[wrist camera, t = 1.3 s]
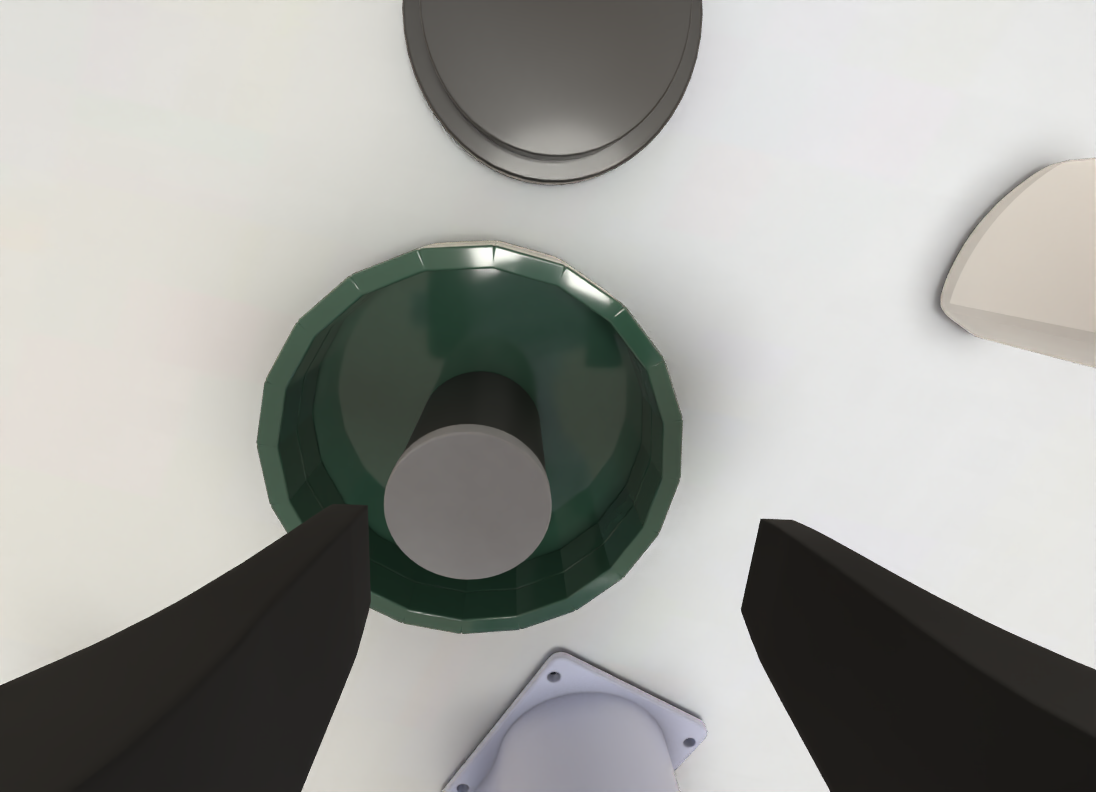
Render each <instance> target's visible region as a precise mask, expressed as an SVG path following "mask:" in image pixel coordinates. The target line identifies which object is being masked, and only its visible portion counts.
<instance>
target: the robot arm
mask: <svg viewBox="0 0 1096 792" xmlns="http://www.w3.org/2000/svg"><path fill="white" fill-rule="evenodd" d="M370 604H371V589H370V558H369V526H368V505H350V504H332V505H330V506H328V507H326V508H325V509H323V510H321V511H320V512H318V513H317V514H315V515H314V516H312V517H311V518H309V519H308V520H306V521H305V522H303V523H302V524H300V525H299V526H297V527H296V528H294V529H293V530H292V531H290V532H289V533H287V534H286V535H284V536H283V537H281V538H280V539H278V540H277V541H275V542H274V543H272V544H271V545H269V546H268V547H266V548H264V549H263V550H261V551H260V552H258V553H257V554H255V555H254V556H252V557H251V558H249V559H248V560H246V561H245V562H243V563H241V564H240V565H238V566H236V567H235V568H233V569H231V570H230V571H228V572H227V573H225V574H223V575H222V576H220V577H218V578H217V579H215V580H213V581H212V582H210V583H208V584H207V585H205V586H203V587H202V588H200V589H198V590H197V591H195V592H193V593H192V594H190V595H188V596H187V597H185V598H183V599H181V600H180V601H178V602H176V603H174V604H172V605H171V606H169V607H167V608H165V609H163V610H161V611H159V612H157V613H156V614H154V615H152V616H150V617H148V618H146V619H144V620H142V621H140V622H138V623H136V624H134V625H132V626H130V627H128V628H126V629H124V630H122V631H120V632H118V633H116V634H114V635H112V636H110V637H108V638H106V639H104V640H102V641H100V642H98V643H96V644H94V645H92V646H89V647H87V648H85V649H83V650H80V651H78V652H76V653H73V654H71V655H69V656H67V657H64V658H62V659H60V660H57V661H55V662H53V663H51V664H48V665H46V666H44V667H41V668H39V669H37V670H35V671H32V672H30V673H28V674H25V675H23V676H21V677H19V678H16V679H14V680H12V681H9V682H7V683H5V684H3V685H0V792H301V791H302V788H303V786H304V783H305V781H306V778H307V776H308V773H309V771H310V769H311V766H312V764H313V761H314V759H315V756H316V754H317V752H318V749H319V747H320V744H321V742H322V739H323V737H324V734H325V732H326V730H327V727H328V725H329V722H330V720H331V717H332V715H333V713H334V710H335V708H336V705H337V703H338V700H339V698H340V695H341V693H342V690H343V688H344V686H345V683H346V681H347V678H348V676H349V673H350V671H351V668H352V666H353V663H354V661H355V658H356V655H357V652H358V648H359V645H360V641H361V638H362V634H363V631H364V627H365V623H366V619H367V615H368V611H369V607H370ZM741 612H742V615H743V617H744V620H745V623H746V626H747V629H748V631H749V634H750V637H751V639H752V642H753V644H754V647H755V649H756V652H757V654H758V657H759V659H760V662H761V664H762V666H763V668H764V670H765V671H766V673H767V675H768V677H769V679H770V681H771V683H772V685H773V687H774V688H775V690H776V692H777V694H778V696H779V698H780V700H781V702H782V703H783V705H784V707H785V709H786V711H787V713H788V715H789V716H790V718H791V720H792V722H793V724H794V726H795V727H796V729H797V731H798V733H799V735H800V737H801V738H802V740H803V742H804V744H805V746H806V748H807V749H808V751H809V753H810V755H811V757H812V759H813V760H814V762H815V764H816V766H817V768H818V770H819V771H820V773H821V775H822V777H823V779H824V781H825V782H826V784H827V786H828V788H829V790H830V792H1096V670H1095V669H1093V668H1090V667H1088V666H1085V665H1083V664H1080V663H1078V662H1076V661H1073V660H1071V659H1068V658H1066V657H1064V656H1062V655H1059V654H1057V653H1055V652H1053V651H1050V650H1048V649H1046V648H1043V647H1041V646H1039V645H1037V644H1034V643H1032V642H1030V641H1028V640H1025V639H1023V638H1021V637H1019V636H1016V635H1014V634H1012V633H1010V632H1008V631H1005V630H1003V629H1001V628H999V627H997V626H995V625H993V624H991V623H989V622H986V621H984V620H982V619H980V618H978V617H976V616H974V615H972V614H970V613H968V612H966V611H964V610H963V609H961V608H959V607H957V606H955V605H953V604H951V603H949V602H947V601H945V600H943V599H941V598H939V597H937V596H935V595H933V594H931V593H929V592H927V591H926V590H924V589H922V588H920V587H918V586H916V585H914V584H912V583H911V582H909V581H907V580H905V579H903V578H901V577H900V576H898V575H896V574H894V573H892V572H891V571H889V570H887V569H885V568H883V567H881V566H880V565H878V564H876V563H874V562H873V561H871V560H869V559H867V558H865V557H864V556H862V555H860V554H858V553H856V552H855V551H853V550H851V549H849V548H847V547H846V546H844V545H842V544H840V543H838V542H836V541H835V540H833V539H831V538H829V537H827V536H825V535H823V534H821V533H820V532H818V531H816V530H814V529H812V528H810V527H807V526H805V525H803V524H801V523H798V522H796V521H794V520H780V519H761V520H760V524H759V529H758V533H757V538H756V543H755V547H754V552H753V556H752V561H751V566H750V570H749V575H748V579H747V584H746V588H745V593H744V598H743V602H742V607H741ZM551 672H558V673H556V674H549V673H551ZM707 732H708V731H707V729H706V726H705V723H704V722H703V721H702V720H700V719H698V718H696V717H694V716H692V715H690V714H688V713H686V712H684V711H682V710H680V709H678V708H676V707H674V706H672V705H670V704H668V703H666V702H664V701H662V700H660V699H658V698H656V697H654V696H652V695H650V694H648V693H646V692H644V691H642V690H640V689H638V688H636V687H634V686H632V685H630V684H628V683H626V682H624V681H622V680H620V679H618V678H616V677H614V676H612V675H610V674H608V673H606V672H604V671H602V670H600V669H598V668H596V667H594V666H592V665H590V664H588V663H586V662H584V661H582V660H580V659H578V658H576V657H574V656H572V655H570V654H568V653H565V652H557V653H554V654H552V655H551V656H550V657H549V658H548V660H547V661H546V662H545V663H544V665H543V666H542V667H541V668H540V670H539V671H538V672H537V673H536V675H535V676H534V677H533V678H532V679H531V681H530V682H529V683H528V684H527V686H526V687H525V688H524V689H523V691H522V692H521V693H520V694H519V696H518V697H517V698H516V699H515V701H514V702H513V703H512V704H511V706H510V707H509V708H508V709H507V711H506V712H505V713H504V714H503V716H502V717H501V718H500V719H499V721H498V722H497V723H496V724H495V726H494V727H493V728H492V729H491V731H490V732H489V733H488V734H487V736H486V737H485V738H484V739H483V741H482V742H481V743H480V744H479V746H478V747H477V748H476V749H475V750H474V752H473V753H472V754H471V755H470V757H469V758H468V759H467V760H466V762H465V763H464V764H463V765H462V767H461V768H460V769H459V770H458V772H457V773H456V774H455V775H454V777H453V778H452V779H451V780H450V782H449V783H448V784H447V785H446V787H445V788H444V789H443V790H442V792H680V790H679V787H678V783H677V780H676V776H675V773H674V771H675V770H676V769H677V768H678V767H679V765H680V764H681V763H682V762H683V761H684V760H685V759H686V758H687V757H688V756H689V755H690V754H691V753H692V752H693V751H694V750H695V749H696V747H697V746H698V745H699V744H700V743H701V742H702V741H703V740H704V739H705V738H706V736H707ZM687 738H688V739H687Z"/></svg>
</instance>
